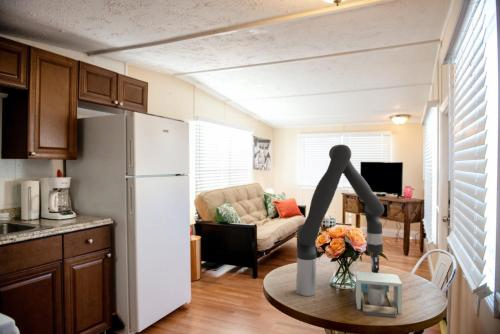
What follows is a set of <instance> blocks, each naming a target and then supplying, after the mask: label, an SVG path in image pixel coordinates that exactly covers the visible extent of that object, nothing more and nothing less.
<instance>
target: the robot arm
mask: <svg viewBox="0 0 500 334" xmlns="http://www.w3.org/2000/svg"><path fill="white" fill-rule="evenodd" d="M328 156H329V158H330V161H329V164H328V167H327V169H326V171H325V172H324V174H323V175H322V177H321V179H320V180H319V181H318V183H317V185H316V186H315V189H314V191H313V194H312V197H311V199H310V200H311V201H310V205H309V209H308V214H307V217H306V219H305V220H304V223H303V224H300V226H298V227H297V230H296V254H297V255H296V256H297V258H296V260H297V261H296V263H297V264H296V265H297V266H296V270H297V271H296V285H295V286H296V287H295V288H296V294H297V295H300V296H305V297H310V296H311V297H312V296H315V295H317V247H316V241H318V240H317V239H318V237H319V233H320V229H321V226H322V223H323V220H324V218H325V217H326V214H327V212H328V210H329V208H330V206H331V204H332V202H333V199H334V196H335V194H336V191H337V189H338V186H339V184H340V181H341V178H342V174H343V176H344V177H345V178H346V180H347V181H348V184H350V186H351V188H352V190H353V191H354V192H355V194H356V196H357V197H358V199H359V200H360V201H362V202H363V204H364V205H365V206H364V214H365V215H364V216H365V221H366V239H365V240H366V244H365V245H366V252H367V253H370V254H369V259H370V264H371V273H379V271H380V256H379V254H382V253H383V252H384V241H383V239H384V238H383V236H384V235H383V223H382V221H381V220H380V217H381V216H382V215H384V212H385V207H384V204H383V203H382V201H381V200H380V199H379V197H378V196H377V195H376V194H375V193H374V192H373V190H372V188H371V187H370V185H369V184H368V182H367V181H366V180H365V178H364V177H363V176H362V175H361V174H360V173H359V171H358V170H357V169H356V167H355V166H354V165H353V163H352V161H351V158H352V150H351V148H350V146H348V145H346V144H335V145H334V146H332V147H331V148H330V149H329V153H328ZM371 254H372V255H371Z"/></svg>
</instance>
